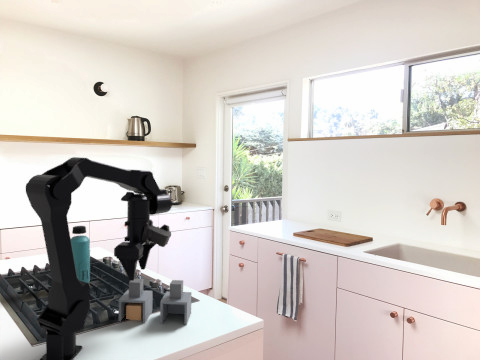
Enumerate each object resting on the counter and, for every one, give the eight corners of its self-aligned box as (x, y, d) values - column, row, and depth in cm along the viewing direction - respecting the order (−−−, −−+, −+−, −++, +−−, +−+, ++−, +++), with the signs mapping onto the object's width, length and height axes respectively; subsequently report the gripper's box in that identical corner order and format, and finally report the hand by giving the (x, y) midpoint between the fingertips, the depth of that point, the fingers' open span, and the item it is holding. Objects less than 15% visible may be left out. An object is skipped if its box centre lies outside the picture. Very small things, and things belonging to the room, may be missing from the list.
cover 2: (186, 324, 95) (187, 287, 94) (160, 323, 95) (160, 286, 94) (191, 313, 102) (191, 278, 101) (166, 312, 102) (166, 277, 101)
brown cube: (141, 320, 97) (141, 306, 96) (126, 320, 97) (126, 305, 97) (145, 314, 101) (145, 300, 100) (131, 313, 101) (131, 299, 101)
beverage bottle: (82, 291, 116) (82, 228, 114) (64, 289, 117) (63, 227, 115) (94, 284, 122) (94, 225, 120) (77, 282, 123) (76, 223, 122)
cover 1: (145, 323, 95) (145, 285, 94) (118, 322, 95) (118, 284, 95) (152, 311, 102) (152, 276, 101) (127, 310, 102) (127, 275, 102)
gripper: (159, 224, 87) (158, 288, 88) (176, 212, 106) (175, 265, 107) (113, 222, 88) (112, 286, 89) (138, 211, 106) (137, 263, 107)
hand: (137, 274), depth 98 cm, fingers open, 9 cm apart
